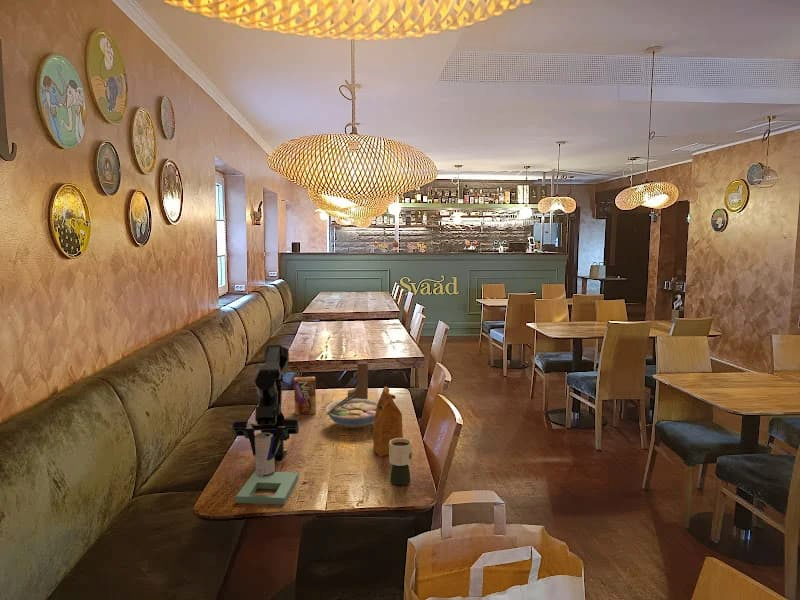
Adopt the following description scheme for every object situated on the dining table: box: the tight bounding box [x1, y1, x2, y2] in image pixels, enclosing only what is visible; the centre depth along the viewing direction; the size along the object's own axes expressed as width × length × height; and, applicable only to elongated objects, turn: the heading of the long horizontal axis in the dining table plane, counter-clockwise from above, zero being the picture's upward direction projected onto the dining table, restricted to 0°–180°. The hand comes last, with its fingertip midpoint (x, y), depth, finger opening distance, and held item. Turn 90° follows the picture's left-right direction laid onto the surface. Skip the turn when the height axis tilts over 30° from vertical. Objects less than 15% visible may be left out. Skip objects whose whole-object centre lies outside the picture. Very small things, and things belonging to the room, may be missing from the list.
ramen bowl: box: [325, 394, 378, 430], centre depth 214 cm, size 25×23×8 cm
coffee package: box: [372, 385, 404, 457], centre depth 189 cm, size 10×12×22 cm
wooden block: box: [347, 361, 369, 400], centre depth 243 cm, size 9×4×18 cm, turn 96°
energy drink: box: [254, 432, 276, 479], centre depth 157 cm, size 5×5×12 cm
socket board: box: [235, 470, 299, 505], centre depth 161 cm, size 16×14×2 cm
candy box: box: [293, 376, 317, 416], centre depth 228 cm, size 9×4×15 cm, turn 99°
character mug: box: [388, 437, 413, 485], centre depth 166 cm, size 11×7×13 cm, turn 10°
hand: (264, 455), depth 155 cm, fingers closed on energy drink, 5 cm apart
